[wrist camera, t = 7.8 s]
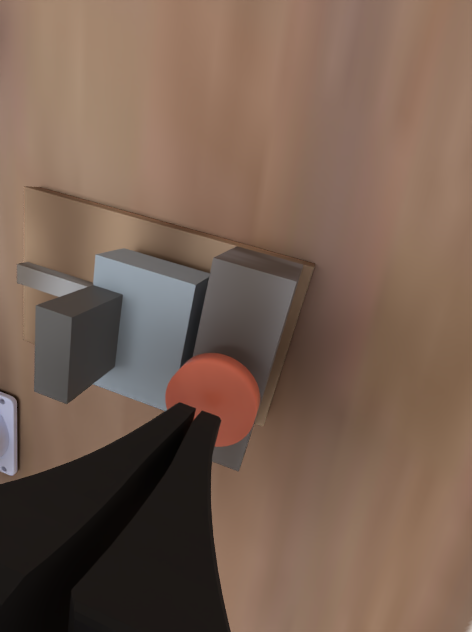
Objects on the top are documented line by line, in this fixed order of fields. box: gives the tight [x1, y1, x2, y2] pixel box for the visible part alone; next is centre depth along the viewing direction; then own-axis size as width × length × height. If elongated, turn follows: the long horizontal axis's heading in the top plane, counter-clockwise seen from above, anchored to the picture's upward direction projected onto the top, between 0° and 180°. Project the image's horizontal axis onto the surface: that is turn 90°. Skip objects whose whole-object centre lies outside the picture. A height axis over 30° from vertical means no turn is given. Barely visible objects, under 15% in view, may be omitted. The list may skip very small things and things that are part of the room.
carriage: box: [34, 248, 210, 411], centre depth 16 cm, size 5×7×6 cm
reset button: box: [165, 353, 260, 447], centre depth 14 cm, size 4×4×1 cm
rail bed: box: [17, 186, 315, 472], centre depth 19 cm, size 17×10×5 cm, turn 77°
